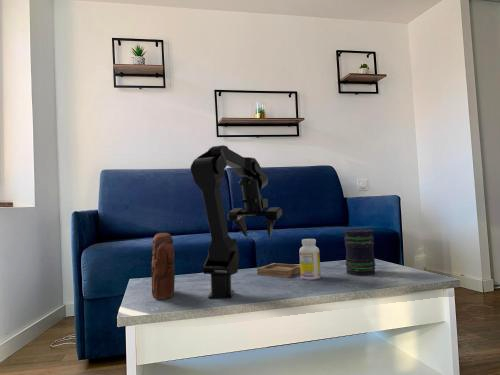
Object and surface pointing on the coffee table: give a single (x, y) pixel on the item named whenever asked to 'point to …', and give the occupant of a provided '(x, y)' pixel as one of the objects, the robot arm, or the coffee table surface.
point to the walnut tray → (279, 270)
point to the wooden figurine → (163, 266)
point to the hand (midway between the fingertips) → (258, 236)
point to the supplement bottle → (309, 260)
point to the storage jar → (360, 252)
